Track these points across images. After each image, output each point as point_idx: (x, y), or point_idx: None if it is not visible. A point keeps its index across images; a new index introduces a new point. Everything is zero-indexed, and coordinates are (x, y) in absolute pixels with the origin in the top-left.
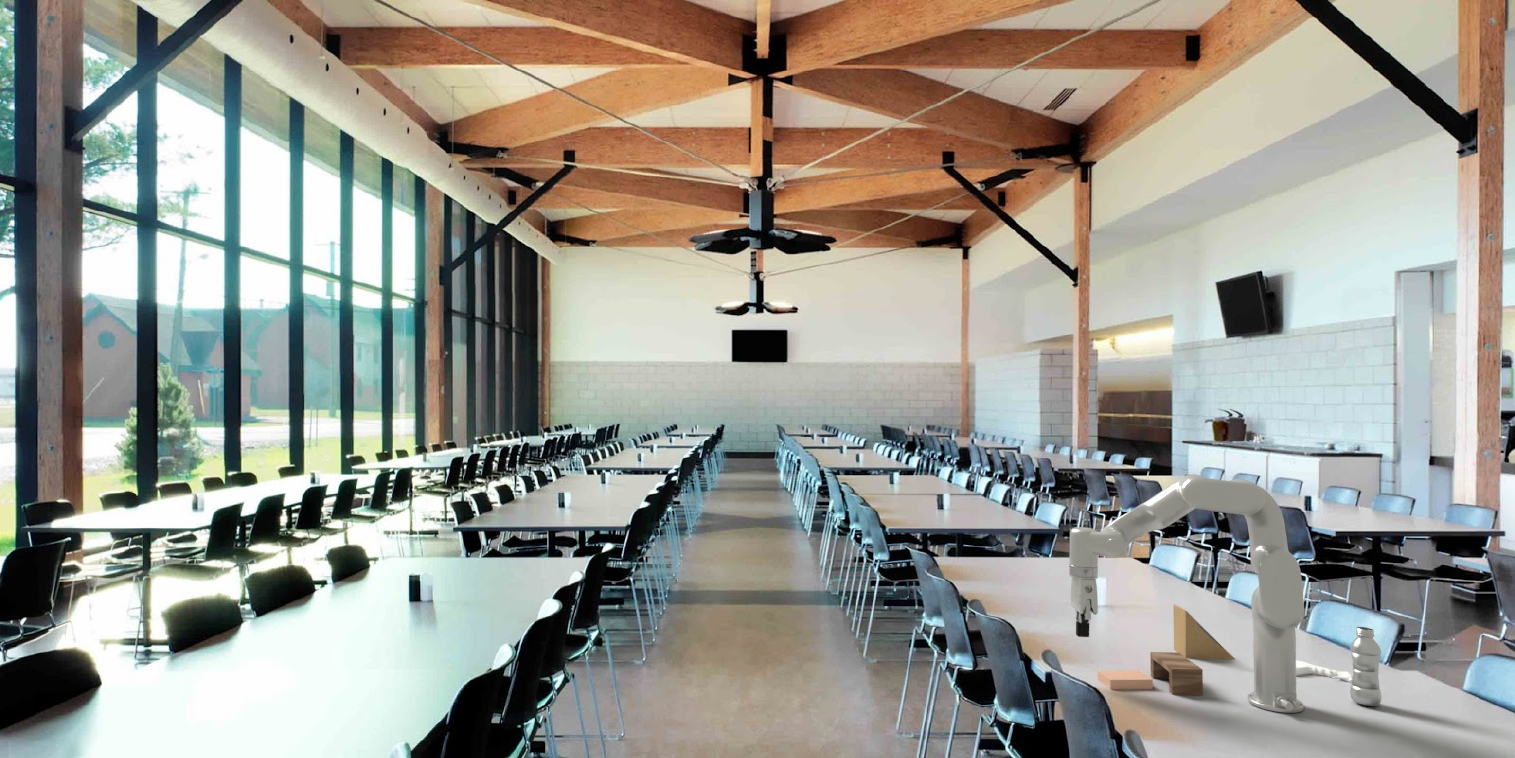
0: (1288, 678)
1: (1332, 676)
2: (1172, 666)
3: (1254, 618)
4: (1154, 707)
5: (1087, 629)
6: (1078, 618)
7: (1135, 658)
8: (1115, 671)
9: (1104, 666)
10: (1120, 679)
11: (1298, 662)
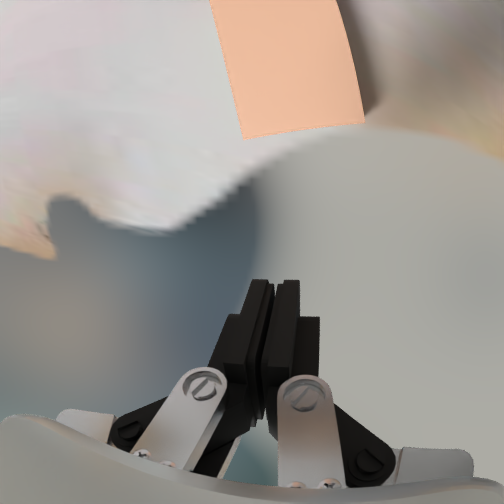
0: None
1: None
2: None
3: None
4: (496, 61)
5: (295, 328)
6: (237, 437)
7: (45, 22)
8: (240, 68)
9: (109, 93)
10: (351, 77)
11: None
